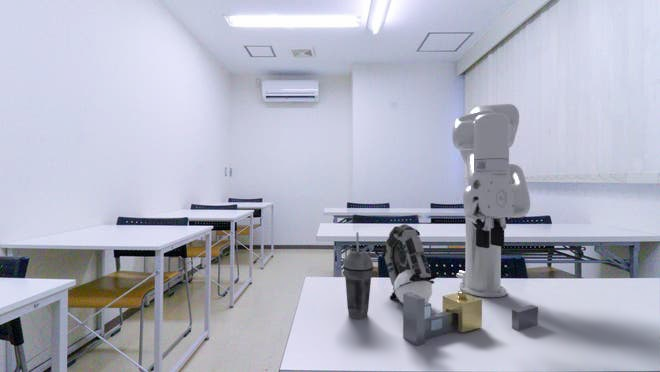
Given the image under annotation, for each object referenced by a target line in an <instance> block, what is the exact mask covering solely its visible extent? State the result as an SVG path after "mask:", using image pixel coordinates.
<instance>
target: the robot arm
mask: <svg viewBox="0 0 660 372" xmlns="http://www.w3.org/2000/svg"><path fill="white" fill-rule="evenodd" d="M519 123H520V113H519V110H518V108H517V107H516V105H515V104H511V103H503V104H489V105H487V104H486V105H479V106H477V107H475V108H473V109H472V110H471V111H470V112H469V114H466V115H463V116H460V117H458V118H456V119H455V121H454V123H453V125H452V126H453V127H452V134H451V137H452V143H453V146H454V147H455V149H457V150H458V151H460V155H461V158H462V160H463V161H464V163H465V165H466V173H467V185H468V186H467V187H466V188H465V190H463V194H462V204H463V210H464V218H465V265H464V267H465V271H464V270H459V271H458V273H456V275H455V277H457V278H459V279H462V281H461V283H459V289H460V291H464V292H466V294H468V295H471V296H475V297H481V298H502V297H504V296H506V295H507V289H506V288H505V287H503V286H502V284H501V279H502V278H501V275H502V274H501V273H502V272H501V270H502V269H501V268H502V266H501V264H502V247H504V246H505V230H506V229H507V223H508V222H509V219H511V218H523V217H525V216H526V215H528V213H529V211H530V210H531V209H530V208H531V198H530V193H529V190H528V185H527V180H526V176H525V174H524V171H523V169H522V168H521V167H520V166H519V165H518V164H515V163H514V164H513V163H510V148H511V147H512V146H513V145H514V143H515V140H516V139H515V138H516V136H517V133H518V129H519Z"/></svg>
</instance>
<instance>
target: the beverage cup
mask: <svg viewBox="0 0 660 372" xmlns="http://www.w3.org/2000/svg"><path fill="white" fill-rule="evenodd" d="M355 236H356V238H355V239H356V250H352V251H351V252H349V253H348V254H347V255H346V257H345V259H344V262H343V267H342V268H343V274H344V277H345V290H346V291H345V292H346V305H347V312H348V317H349V318H351V319H355V320H363V319H366V318H367V317H368V312H369V305H370V296H371V295H370V293H371V284H372V282H371V281H372V277H373V272H374V269H375V268H374V262H373V259H372V257H371V256H370V255H369V254H368V252H366V251H364V250H361V249H360V245H359V244H360V241H359V240H360V239H359V238H360V237H359V232H356V235H355Z"/></svg>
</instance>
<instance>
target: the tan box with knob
mask: <svg viewBox="0 0 660 372" xmlns="http://www.w3.org/2000/svg"><path fill="white" fill-rule="evenodd" d="M449 310H450V311H452V312H455V313H457V314H459V324H458V332H461V333H467V332H469V331H472V330H476V329H479V328H482V325H483V299H482V298H479V297H477V296H474V295H472V294H468V293H466V292H464V291H462V290H459V291H458V290H457V293H451V294H447V295H446V294H445V295H442V311H441V312H445V311H449Z"/></svg>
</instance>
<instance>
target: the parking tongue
mask: <svg viewBox="0 0 660 372" xmlns="http://www.w3.org/2000/svg"><path fill="white" fill-rule="evenodd" d="M538 320H539V307H538V306H536V305H534V304H529V305H525V306H521V307H518V308H515V309H512V310H511V328H512V329H513V330H516V331H518V332H519V331H522V330H525V329H528V328H531V327H534V326H537V325H539V323H538V322H539V321H538Z"/></svg>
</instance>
